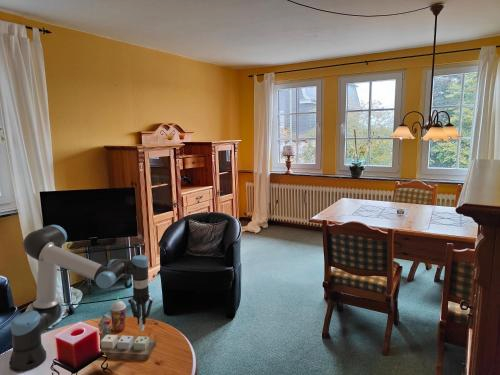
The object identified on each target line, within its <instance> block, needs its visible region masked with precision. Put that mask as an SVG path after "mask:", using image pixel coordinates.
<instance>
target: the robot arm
mask: <svg viewBox="0 0 500 375" xmlns="http://www.w3.org/2000/svg"><path fill="white" fill-rule="evenodd" d="M67 240H68V235H67V232H66V230H65V229H64V228H63V227H61V226H60V225H57V224H51V225H46V226H44V227H41V228H38V229H37V230H32V231H31V232H29V233H28V234H27V235H26V236H25V237H24V239H23V242H22V246H23V250H24V252H25V253H26V254H27V255H28V256H29V257H30V258H31V259H34V260H36V261H37V262H38V264H37V279H36V280H37V281H36V297H35V298H36V299H35V300H34V301H32V310H28V311H25V312H22V313H20V314H18V315H16V316H15V317H14V318H13V319H12V321H11V325H10V326H11V327H10V332H11V341H12V343H11V344H12V353H11V356H10V358H9V362H8V365H9V369H10V371H12V372H17V373H20V372H27V371H30V370H33V369H35V368H37V367H39V366H40V365H42V364H43V363H44V362H46V360H47V351H46V350H45V348H44V346H43V344H42V334H43V333H44V332H45V331H46V330H47V329H49V328H50V327H51V326H52V325H53V324H55V323H56V322H58V320H59V319H60V318H61V316H62V314H63V306H62V304H61V302H60V300H59V298H57V297H56V296H57V278H58V267H60V268H63V269H66V270H67V271H70V272H73V273H75V274H78V275H80V276H83V277H85V278H88V279H91V280H93V281H95V283H96V285H97V287H99V288H100V289H103V290H104V289H105V290H106V289H109V288H110V287H111V286H113V285H114V284H115V283H117V281H118V280H119V279H120V278H122V277H123V276H131V277H132V293H133V294H132V297H130V298H129V299H128V300H127V302H128V303H129V305H130V308H131V314H132V315H133V318H135V319H137V320H136V321H137V325H139V332H143V331H144V329H145V325H146V322H147V321H146V320H147V319H148V318H149V316H150V314H151V309H152V305H153V302H154V301H155V298H152V297H151V296H150V295H149V293H150V291H149V290H150V289H149V260H148V256H146V255H143V254H140V255H139V254H138V255H134V256H133V257H132V259H123V258H122V259H120V258H115V259H110V260H109V262H108V263H107V266H105V265H103V264H100V263H98V262H95V261H93V260H91V259H89V258H86V257H83V256H81V255H79V254H77V253H74V252H72V251H70V250H66V249H64V248H63V245H64V244H65V243H66V242H67ZM147 303H148V305H147ZM146 307H147V308H146Z"/></svg>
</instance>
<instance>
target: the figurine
mask: <svg viewBox="0 0 500 375" xmlns="http://www.w3.org/2000/svg"><path fill="white" fill-rule="evenodd" d="M111 323H112V317H111V314H109V310H108V311H106V313H105V314H102V316H101V318H100V321H99V323H98V324H97V326H98V328H99V331H101V339H100V340H102V339H103V338H104V337H105V336H106V335H113V334H112V333H111V331H112V325H111Z"/></svg>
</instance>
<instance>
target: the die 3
mask: <svg viewBox="0 0 500 375" xmlns="http://www.w3.org/2000/svg"><path fill="white" fill-rule="evenodd" d="M136 338H137V339H136V340H135V342H134V350H143V351H146V350H147V348H148V346H149V339H150V336H140V335H138V336H137V337H136Z"/></svg>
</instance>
